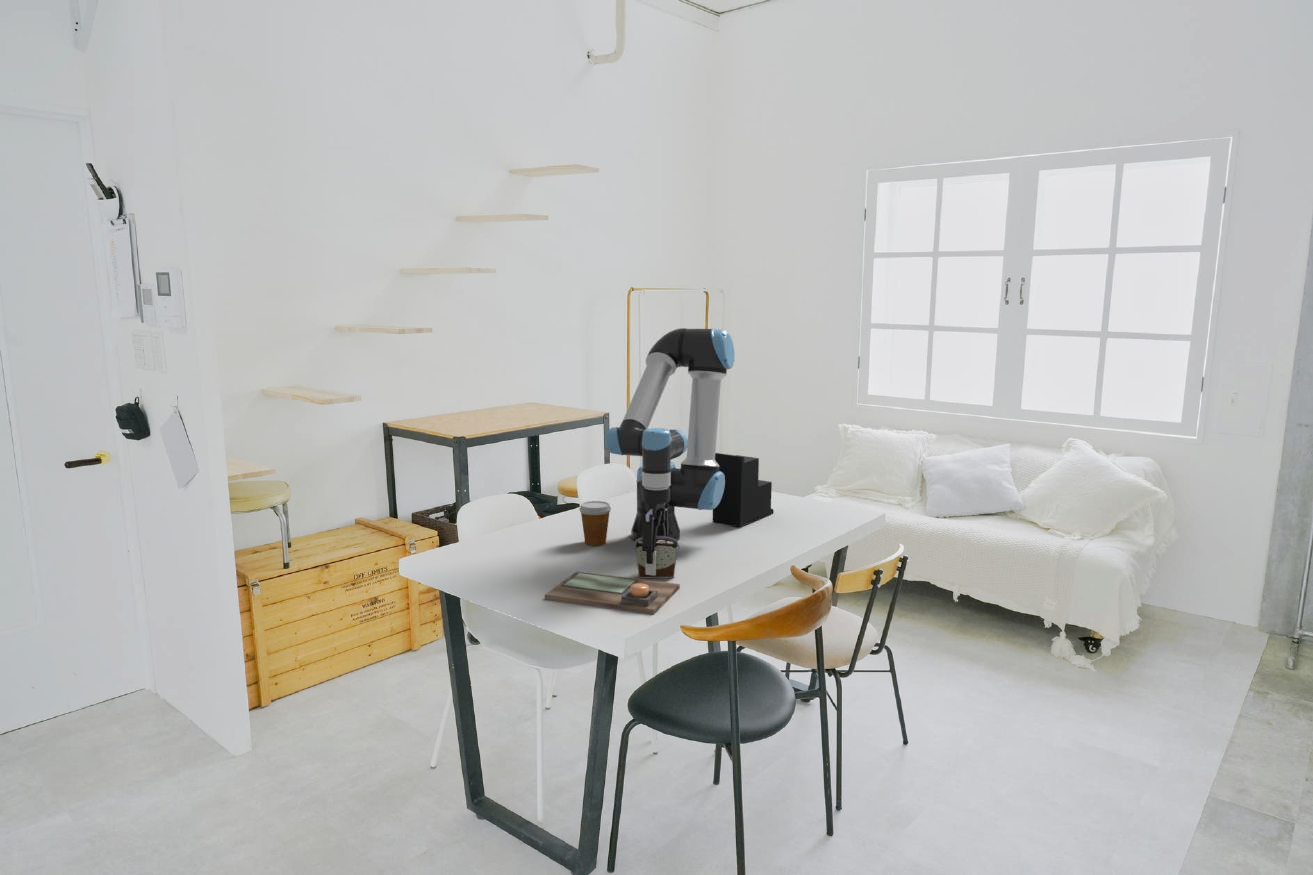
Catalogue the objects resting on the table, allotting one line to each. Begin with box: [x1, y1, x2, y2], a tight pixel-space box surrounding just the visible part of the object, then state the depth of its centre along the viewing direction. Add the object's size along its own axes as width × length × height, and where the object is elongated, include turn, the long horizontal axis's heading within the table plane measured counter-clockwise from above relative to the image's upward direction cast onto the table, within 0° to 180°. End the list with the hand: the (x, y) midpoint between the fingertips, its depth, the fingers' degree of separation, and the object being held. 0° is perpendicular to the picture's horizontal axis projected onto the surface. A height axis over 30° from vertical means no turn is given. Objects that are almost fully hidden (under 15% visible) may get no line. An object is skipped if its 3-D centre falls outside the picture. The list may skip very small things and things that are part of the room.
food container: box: [633, 536, 681, 579], centre depth 235 cm, size 12×6×10 cm, turn 92°
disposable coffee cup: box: [578, 500, 612, 547], centre depth 263 cm, size 10×10×12 cm
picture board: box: [544, 570, 681, 615], centre depth 221 cm, size 19×29×3 cm, turn 70°
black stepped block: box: [711, 452, 774, 528], centre depth 291 cm, size 23×11×24 cm, turn 145°
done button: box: [631, 583, 649, 597], centre depth 213 cm, size 4×4×2 cm
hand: (655, 570), depth 236 cm, fingers closed on food container, 7 cm apart
